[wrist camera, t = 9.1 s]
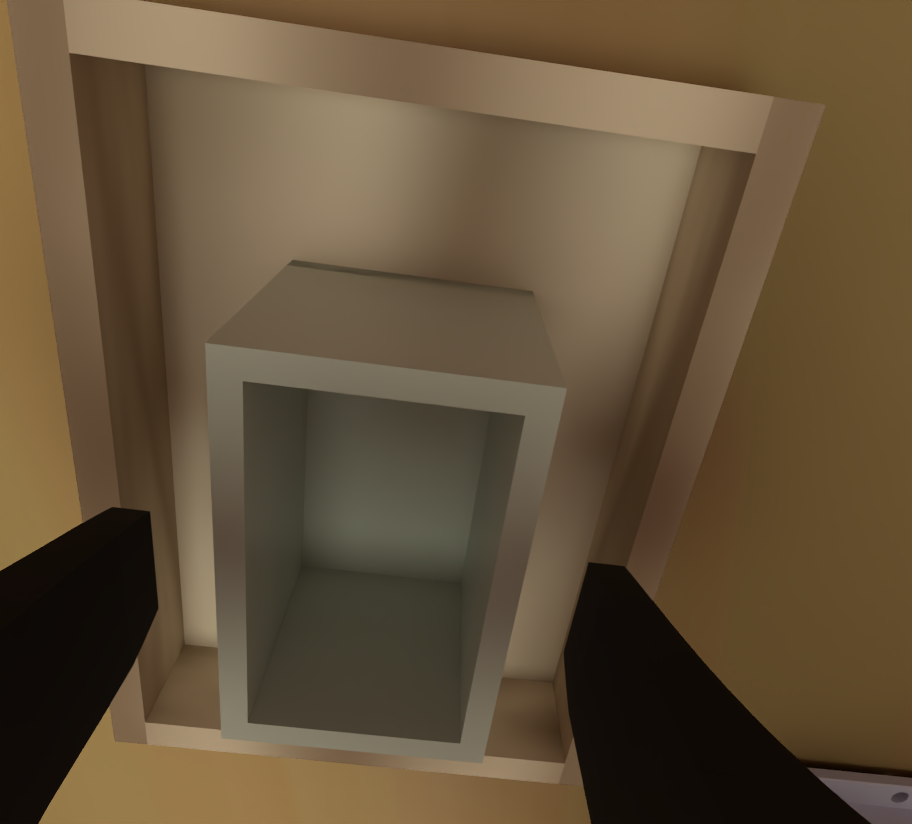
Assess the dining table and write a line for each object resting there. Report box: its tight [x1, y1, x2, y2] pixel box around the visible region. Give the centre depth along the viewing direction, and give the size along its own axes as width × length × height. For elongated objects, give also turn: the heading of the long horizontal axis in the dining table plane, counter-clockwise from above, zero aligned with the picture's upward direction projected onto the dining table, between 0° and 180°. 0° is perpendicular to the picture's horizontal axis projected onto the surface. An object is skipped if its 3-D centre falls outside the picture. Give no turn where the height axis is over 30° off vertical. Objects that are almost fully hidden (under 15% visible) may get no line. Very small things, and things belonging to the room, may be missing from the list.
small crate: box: [205, 260, 567, 763], centre depth 13 cm, size 5×8×5 cm, turn 172°
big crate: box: [7, 0, 826, 786], centre depth 14 cm, size 12×16×3 cm
